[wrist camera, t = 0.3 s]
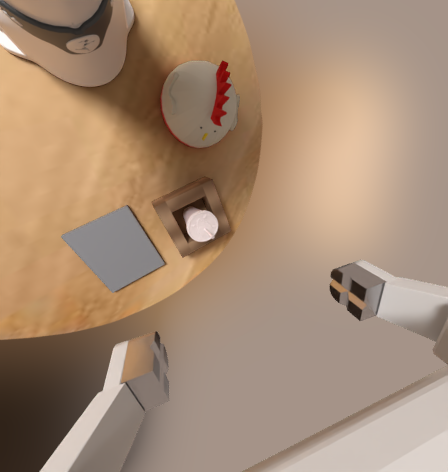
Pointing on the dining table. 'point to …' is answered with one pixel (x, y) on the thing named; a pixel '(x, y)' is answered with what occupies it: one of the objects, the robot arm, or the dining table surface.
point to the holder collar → (184, 197)
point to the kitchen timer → (199, 103)
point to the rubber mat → (115, 248)
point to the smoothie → (200, 224)
